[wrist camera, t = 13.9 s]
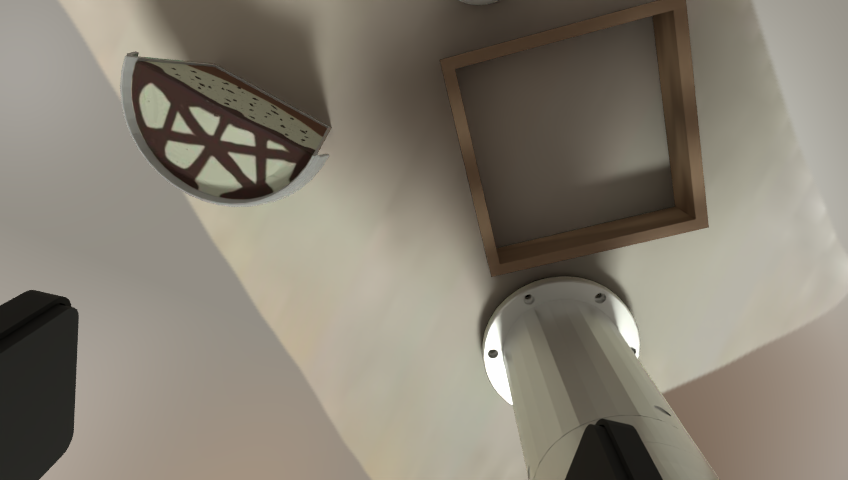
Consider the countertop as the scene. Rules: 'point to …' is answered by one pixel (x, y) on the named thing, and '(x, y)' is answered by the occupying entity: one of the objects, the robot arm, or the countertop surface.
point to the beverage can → (478, 2)
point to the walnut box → (679, 131)
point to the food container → (218, 132)
